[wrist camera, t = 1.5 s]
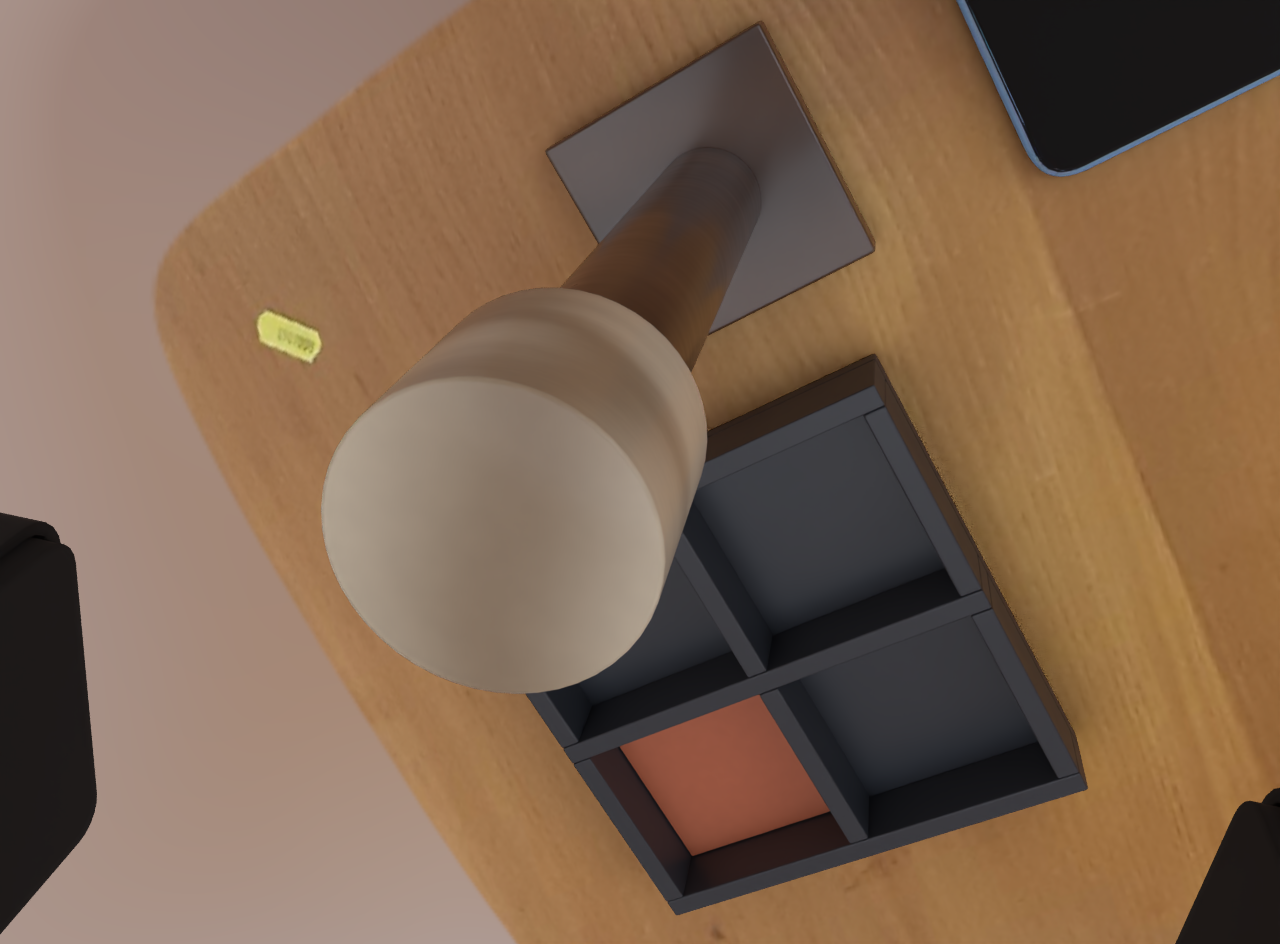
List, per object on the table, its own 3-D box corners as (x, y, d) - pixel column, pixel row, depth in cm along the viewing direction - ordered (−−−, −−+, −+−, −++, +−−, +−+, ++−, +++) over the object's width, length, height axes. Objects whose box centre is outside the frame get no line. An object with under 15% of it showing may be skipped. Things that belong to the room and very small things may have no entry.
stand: (552, 145, 35) (270, 336, 19) (762, 19, 33) (640, 117, 17) (669, 347, 37) (502, 673, 21) (876, 243, 35) (864, 523, 19)
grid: (473, 540, 42) (447, 580, 39) (875, 352, 36) (874, 384, 34) (687, 861, 46) (676, 916, 43) (1076, 735, 40) (1089, 790, 38)
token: (401, 504, 20) (296, 630, 17) (454, 246, 18) (347, 327, 15) (661, 592, 20) (612, 739, 16) (745, 342, 18) (710, 447, 14)
